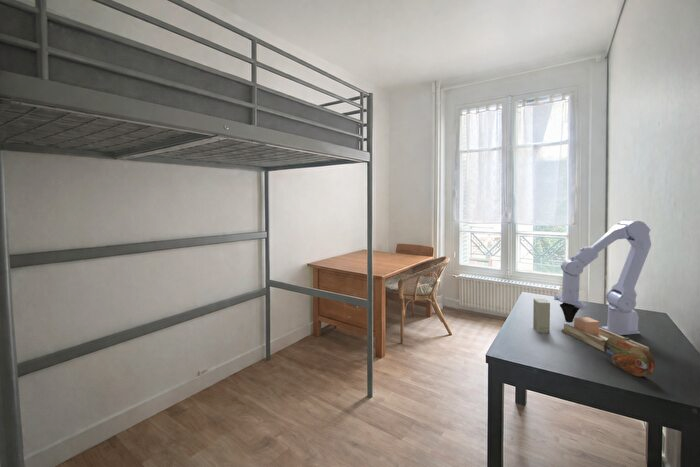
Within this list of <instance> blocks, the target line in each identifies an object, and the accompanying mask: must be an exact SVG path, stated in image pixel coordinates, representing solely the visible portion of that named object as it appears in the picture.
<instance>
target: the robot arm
mask: <svg viewBox="0 0 700 467" xmlns="http://www.w3.org/2000/svg"><path fill="white" fill-rule="evenodd" d="M650 232H651V228H650V227H649V226H648V225H647V223H646V222H644V221H641V220H630V219H622V220H620V221H618V222H617V223H616V224H614V225H613V226H611V228H610V229H609V230H608V231H606V232H605V233H604V234H603V235H602V236H601V237H600V238H599V239H598V240H596V241H595V242H594V243H592V245H591V246H583V247H580V248H579V251H578V252H577V253H575V254H574V255H571V256H570V257H569V259H565V260H564V261H563V262H562V264H561V265H560V269H561V270H562V288H561V295H559V294H555V295H554V297H553V298H554V299H553V300H555V301H558V302H561V303H560V304H559V307H560V309H561V311H562V313H563V316H564V321H565V322H567V324H568V323H570V324H571V323H574V322H573V321H574V318H576V314H577V313H578V312H579V310H581V311H587V310H588V304H585V303H584V302H582V301H581V300H579V299H580V298H579V297H580V281H581V279H580V278H581V277H580V275H581V274H582V273H583V272H584V269H585V268H586V267H587V266H588V265H589V264H591V263H593V261H594V260H596V259H598V257H599V252H601V251H602V250H604V249H606V248H607V247H608V246H610V245H611V244H613V243H614V242H616V241H618V240H625V239H626V240H627V242H628V243H629V244H630V250H629V252H628V254H627V257H626V258H625V262H624V265H623V267H622V270H621V272H620V275H619V278H618V280H617V283H615V284H614V285H612V287H611V289H610V290H609V291H607V293H606V295H605V300H606V301H607V303H608V307H607V308H608V309H607V310H608V311H607V322H606V323H607V325H606V326H605V325H604V326H601V327H600V328H602V329H605V330H607V331H610V332H612V333H615V334H617V335H620V336H626V335H637V334H640V331H638V330H639V314H638V312H637V311H636V310H635V308H636V306H637V302H636V301H637V300H636V299H637V295H638V294H637V292H636V289H635V288H636V284H637V282H638V280H639V278H640V275H641V272H642V270H643V267H644V265H645V263H646V260H647V257H648V254H649V252H650V250H651V247H652V240H651V236H650Z"/></svg>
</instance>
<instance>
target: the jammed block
mask: <svg viewBox="0 0 700 467" xmlns="http://www.w3.org/2000/svg"><path fill="white" fill-rule="evenodd" d="M573 321H574V322H573V327H575V328H577V329H580V330H582V331H584V332H586V333H589V334H591V335H596V334H598V333H599V327H600V321H599V320H596V319H594V318H592V317H589V316H587V317H586V316H585V317H574V319H573Z"/></svg>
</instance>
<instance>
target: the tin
mask: <svg viewBox="0 0 700 467" xmlns="http://www.w3.org/2000/svg"><path fill="white" fill-rule="evenodd" d="M603 352H604V355H605V356H606V359H607V360H608V361H609V362H610V363H611V364H612V365H614V366H616V367H618V368H620V369H621V370H624V371H626V372H627V373H629V374H631V375H633V376H635V377H648V376H651V375H652V374H653V373H655V368H656V362H655V359H654V357H653V355H652V354H650V353H651V352H650V350H649V351H647V350H646V349H644V348H642V347H639V346H637V345H635V344H632V343H630V342H628V341H626V340H623V339H620V338H609V339H607V340H606V342H605V344H604V351H603Z"/></svg>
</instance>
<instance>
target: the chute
mask: <svg viewBox="0 0 700 467" xmlns="http://www.w3.org/2000/svg"><path fill="white" fill-rule="evenodd" d="M561 332H562V333H563V334H566V335H568V336H571V337H573V338H575V339H577V340H579V341H580V342H584V343H585V344H588V345H590V346H592V347H593V348H596V349H598V350H600V351H602V352H604V344H605V342H606V340H607V339H609V338H620V339H623V340H626V341H628V342H630V343H632V344H635V345H637V346H639V347H642V348H644V349H646V350H647V351H649V352H650V346H646V345H644V344H642V343H639V342H636V341H635V340H633V339H630V338H629V337H625V336H623V335H618V334H615V333H613V332H610V331H608V330H605V329H603V328H601V327H600V326H599V333H598V334H596V335H591V334H589V333H586V332H584V331H582V330H580V329H577V328H575V327H574V325H570V324H568V323H563V328H562V329H561ZM650 354H651V352H650ZM651 355H652V354H651Z"/></svg>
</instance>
